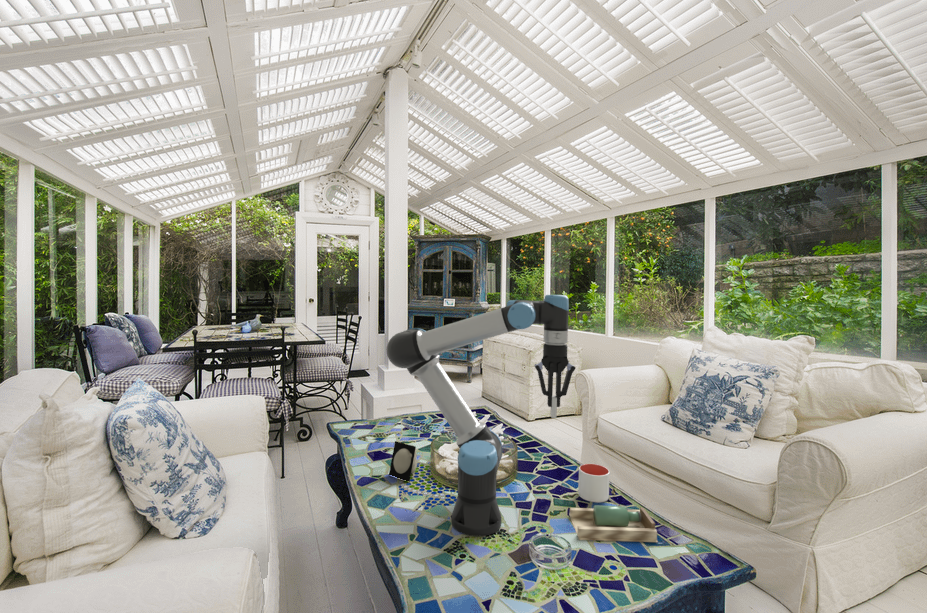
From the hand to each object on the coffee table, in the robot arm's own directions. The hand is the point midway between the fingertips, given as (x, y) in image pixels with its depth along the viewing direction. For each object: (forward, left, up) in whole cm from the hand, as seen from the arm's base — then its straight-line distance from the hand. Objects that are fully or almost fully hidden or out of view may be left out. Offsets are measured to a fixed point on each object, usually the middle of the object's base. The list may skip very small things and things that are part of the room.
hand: (553, 416), depth 143 cm
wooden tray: (+16, -12, -30) cm, 36 cm away
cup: (+16, +8, -31) cm, 35 cm away
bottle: (+12, -10, -27) cm, 31 cm away
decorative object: (-51, +22, -31) cm, 63 cm away
